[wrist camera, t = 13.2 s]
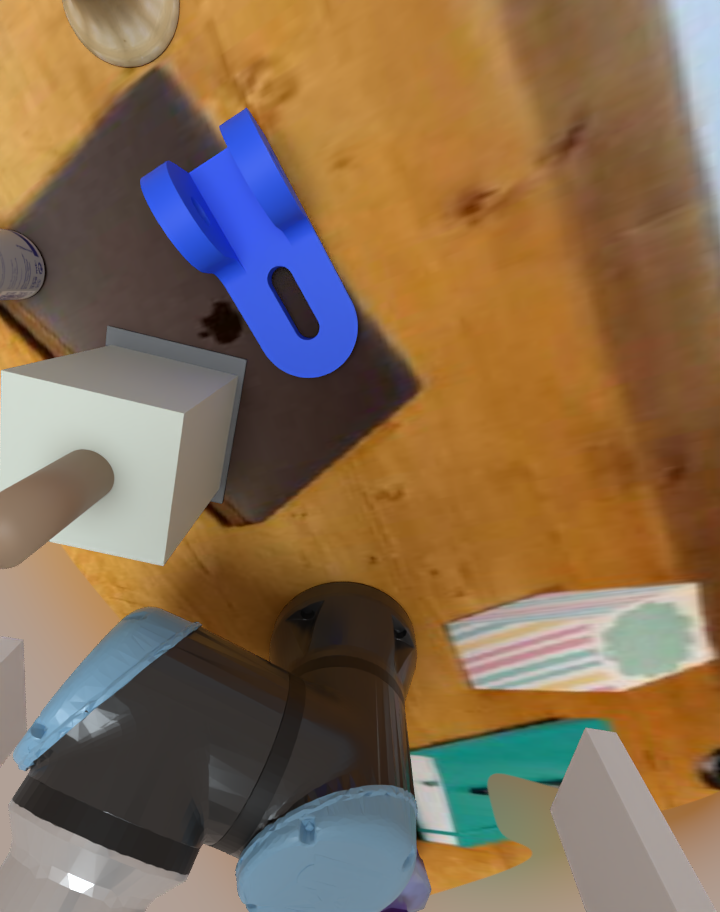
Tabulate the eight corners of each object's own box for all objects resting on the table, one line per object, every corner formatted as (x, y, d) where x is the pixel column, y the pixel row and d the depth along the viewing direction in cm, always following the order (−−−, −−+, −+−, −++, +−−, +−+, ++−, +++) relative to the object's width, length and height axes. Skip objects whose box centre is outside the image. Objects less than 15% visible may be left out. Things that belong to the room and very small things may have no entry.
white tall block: (219, 488, 47) (100, 652, 26) (102, 462, 46) (-119, 608, 25) (238, 375, 44) (119, 458, 22) (112, 345, 43) (-134, 401, 22)
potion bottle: (349, 809, 61) (346, 929, 49) (419, 801, 60) (432, 920, 49) (361, 857, 64) (361, 981, 52) (429, 849, 63) (443, 973, 52)
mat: (222, 502, 48) (221, 503, 48) (96, 474, 47) (95, 475, 47) (247, 359, 43) (246, 360, 43) (108, 325, 43) (107, 325, 42)
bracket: (175, 192, 40) (124, 166, 31) (264, 134, 38) (236, 91, 30) (292, 390, 45) (276, 414, 36) (375, 345, 43) (377, 359, 35)
